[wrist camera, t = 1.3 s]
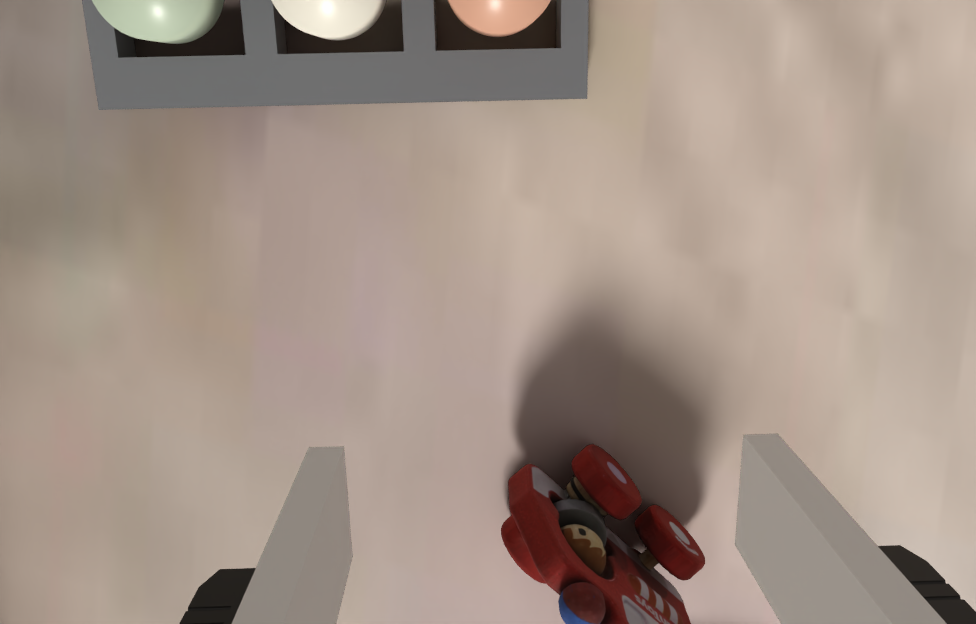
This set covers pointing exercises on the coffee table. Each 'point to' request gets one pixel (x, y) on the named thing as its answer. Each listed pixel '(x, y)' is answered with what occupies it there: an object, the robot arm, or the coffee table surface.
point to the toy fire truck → (598, 544)
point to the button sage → (161, 18)
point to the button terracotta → (498, 15)
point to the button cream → (331, 16)
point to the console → (337, 67)
